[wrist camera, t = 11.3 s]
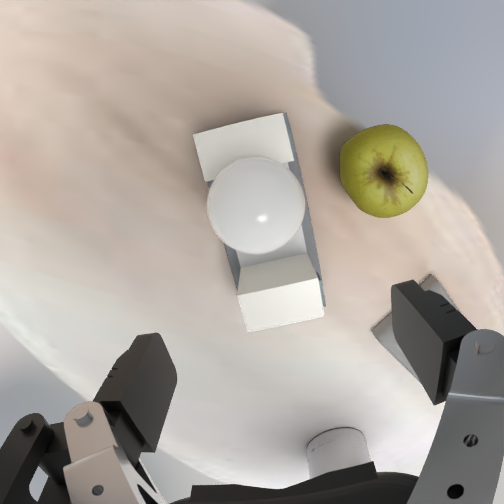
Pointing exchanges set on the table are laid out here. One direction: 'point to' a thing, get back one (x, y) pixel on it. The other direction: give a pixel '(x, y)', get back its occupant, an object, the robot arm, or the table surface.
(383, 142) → the apple
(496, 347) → the robot arm
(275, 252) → the rail board
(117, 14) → the table surface
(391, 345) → the grey flat block
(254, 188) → the lightbulb
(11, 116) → the table surface
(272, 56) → the table surface
